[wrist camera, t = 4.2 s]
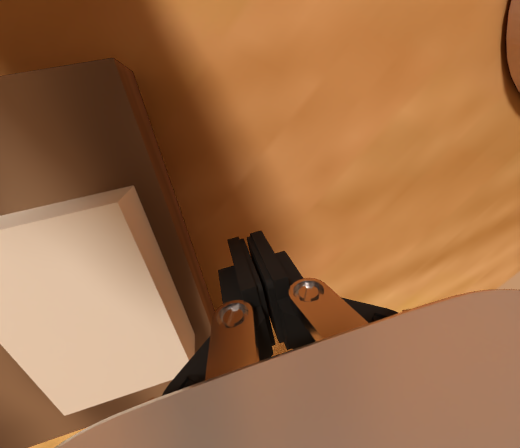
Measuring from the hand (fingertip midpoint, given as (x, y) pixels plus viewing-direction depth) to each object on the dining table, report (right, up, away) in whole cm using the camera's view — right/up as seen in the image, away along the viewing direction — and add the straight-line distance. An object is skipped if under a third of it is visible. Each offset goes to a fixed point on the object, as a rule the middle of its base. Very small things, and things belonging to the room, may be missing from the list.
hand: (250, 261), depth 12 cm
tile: (-7, -2, -1) cm, 7 cm away
